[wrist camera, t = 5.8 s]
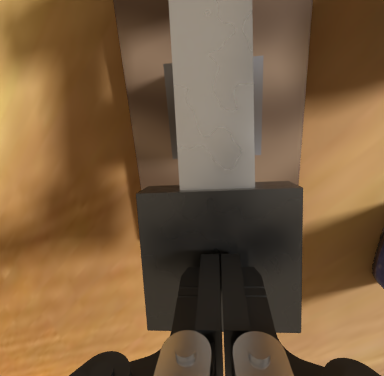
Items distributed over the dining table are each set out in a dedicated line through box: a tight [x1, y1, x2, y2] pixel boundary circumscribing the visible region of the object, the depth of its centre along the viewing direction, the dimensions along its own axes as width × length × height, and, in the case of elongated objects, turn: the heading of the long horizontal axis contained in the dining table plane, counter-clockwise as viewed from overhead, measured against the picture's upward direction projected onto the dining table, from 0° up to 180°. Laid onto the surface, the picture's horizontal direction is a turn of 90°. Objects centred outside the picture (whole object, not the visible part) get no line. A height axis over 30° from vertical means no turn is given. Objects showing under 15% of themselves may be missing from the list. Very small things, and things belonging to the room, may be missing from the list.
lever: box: [136, 0, 303, 333], centre depth 11 cm, size 19×6×2 cm, turn 4°
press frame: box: [113, 0, 313, 190], centre depth 15 cm, size 24×13×12 cm, turn 4°
